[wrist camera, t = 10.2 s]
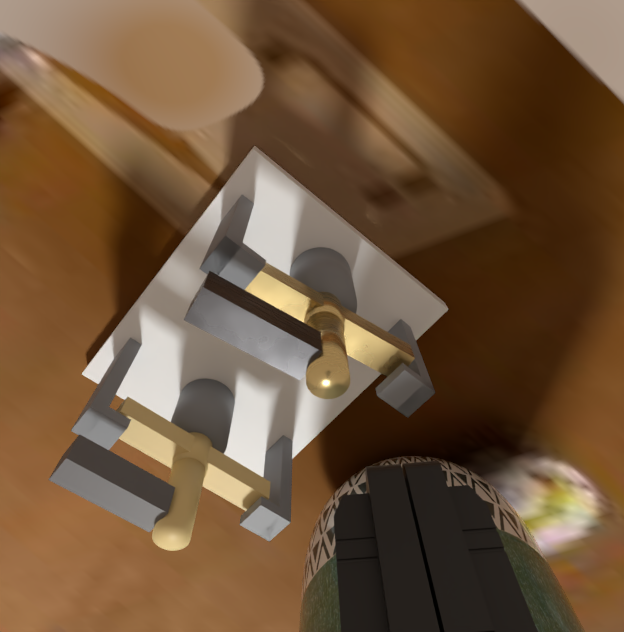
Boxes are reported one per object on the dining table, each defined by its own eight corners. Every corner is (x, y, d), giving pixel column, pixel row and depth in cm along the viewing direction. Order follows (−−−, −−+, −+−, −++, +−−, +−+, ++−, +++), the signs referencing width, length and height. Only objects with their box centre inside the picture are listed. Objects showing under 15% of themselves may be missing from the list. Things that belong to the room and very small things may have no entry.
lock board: (266, 474, 48) (253, 631, 36) (86, 365, 43) (-6, 505, 30) (444, 302, 41) (510, 422, 28) (254, 145, 36) (227, 204, 23)
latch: (410, 339, 35) (438, 415, 28) (389, 366, 36) (410, 446, 29) (225, 232, 32) (203, 288, 24) (206, 264, 32) (179, 328, 25)
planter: (298, 567, 54) (296, 855, 35) (292, 408, 45) (284, 677, 26) (493, 563, 54) (597, 847, 35) (524, 403, 45) (686, 666, 26)
